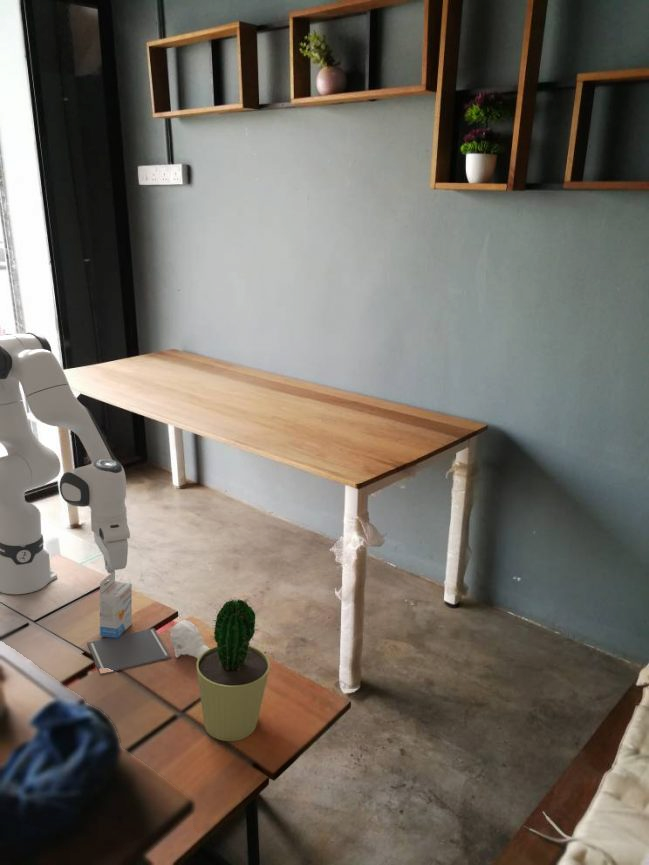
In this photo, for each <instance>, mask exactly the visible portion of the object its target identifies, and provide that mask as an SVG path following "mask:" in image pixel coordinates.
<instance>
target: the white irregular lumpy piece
mask: <svg viewBox="0 0 649 865" xmlns="http://www.w3.org/2000/svg"><path fill="white" fill-rule="evenodd" d="M169 637H170V643H171V644H172V646H173V650H174V654H175V655H174V656H175V658H176V659H177V658H179V657H180V656H181V655H184V656H185V655H188V656H190V657H194V658H196V659H197V660H198V658H199V657H200V655H201V654H203V653H204V652H205V651H206V650H208V649H210V648H211V647H210V648H209V647H208V646H207V645H206V643H205V639H204V638H203V637H202V634H201V632H200V631H199V629H198V628H197V625H196V624H194V623H192V621H189V620H185V619H183V620H180V621H179V622H177V623H176V624H175V625H174V626H173V628H172V630H171V632H170V635H169Z"/></svg>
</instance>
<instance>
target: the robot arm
mask: <svg viewBox="0 0 649 865" xmlns="http://www.w3.org/2000/svg"><path fill="white" fill-rule="evenodd" d="M20 385H21V388H22V390H23V393H24V396H25V400H26V401H27V402H26V403H27V404H28V407H29V410H30V411H31V413H32V415H33V417H34V418H35V419H36V420H38V421H39V422H41V423H43V424H45V425H49V426H51V427H58V428H63V429H66V430H69V431H71V432H73V433H74V434H75V435H77V437H78V438H79V440H80V442H81V443H82V445H83V448H84V449H85V450H86V452H87V455H88V456H89V459H90V461H91V463H90V464H87V465H84V466H80V467H76V468H74V469H71V470H68V471H66V472H65V473H63V474H62V475H61V478H60V481H59V491H60V492H59V493H60V495H61V497H62V499H63V500H64V502H66V503H67V504H69V505H70V506H73V507H80V508H81V507H83V508H85V507H88V508H89V509H90V529H91V532H93V538H94V543H95V544H96V545H97V548H98V549H99V552H101V554H102V557H103V560H104V569H105V570H106V572H107V574H111V573H112V572H113V571H115V572H116V571H119V570H124V569H126V567H127V564H128V554H129V553H128V551H129V550H128V549H129V543H128V539H130V538H131V532H130V529H129V526H128V517H127V515H128V514H127V506H126V499H127V480H126V472H125V469H124V467H123V465H122V464H121V462H120V461H119V460H118V459H117V458H116V455H114V453H113V451H112V449H111V447H110V445H109V443H108V441H107V439H106V438H105V436H104V434H103V433H102V430H101V429H100V426H99V425H98V422H97V421H96V419H95V417H94V416H93V414H92V412H91V411H90V410H89V409H88V407H87V406H85V405H83V404H82V403H81V402H80V401H79V400H78V399H77V397H76V396H75V394H74V392H73V391H72V389H71V386H70V384H69V381H68V378H67V375H66V374H65V372H64V369H63V368H62V366H61V363H59V361H58V359H57V357H56V356H55V354H54V353H53V351H52V347H51V345H50V342H49V340H48V339H47V338H46V337H44V336H43V335H41V334H38V333H35V332H33V333H32V332H25V333H6V334H4V335H0V444H1V445H2V446H3V447H4V448H5V450H6V452H7V455H4V456H0V593H2V594H6V595H7V594H8V595H23V594H29V593H33V592H34V593H35V592H36V591H40V590H41V589H43V588H45V587H46V586H47V585H48V584H49V583H50V582H52V581H54V580H56V579H57V577H58V575H57V573H56V571H54V570H53V568H51V562H50V560H51V559H50V553H49V552H48V551H47V550H46V549H44V543H45V542H44V536H43V534H42V521H41V520H42V517H41V516H42V514H41V511H40V509H39V508H38V507H37V506H36V505H35V504H33V503H30V502H28V501H26V499H25V493H26V492H28V491H31V490H34V489H37V488H39V487H40V488H41V487H42V486H45V485H46V484H48V483H50V482H52V481H53V480H55V479H56V478H57V477H58V476H59V474H60V472H61V461H60V458H59V456H58V455H57V453H56V452H55V451H54V450H53V449H51V448H49V447H48V446H45V445H44V444H43V443H42V442H41V441H40V440H39V439H38V438H37V436H36V435H35V433H34V432H33V430H32V428H31V425H30V423H29V419H28V415H27V412H26V409H25V408H26V407H25V403H24V399H23V396H22V393H21V388H20Z"/></svg>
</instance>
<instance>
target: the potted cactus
mask: <svg viewBox="0 0 649 865" xmlns="http://www.w3.org/2000/svg"><path fill="white" fill-rule="evenodd" d="M247 601H248V600H247V599H245V600H244V599H241V597H239V598H237V599H235V598H233V599H232V597H230V598H229V600H227V601H225V602H223V603H224V604H222V606H221V605H219V604H218V605H219V607H220V609H219V608H218V607H217V606H216V607H217V611H218V612H217V613H216V614H217V615H215V619H213V620H212V621H213V622H214V623H215V624H214V625H213V627H214V628H213V633H212V634H211V636H210V638H212V639H213V640H214V641H215V643H216V645H214V646H212V647H210V649H208V650H206V651H205V652H204V653H203V654H201V655H200V657H199V658H198V659H197V661H196V670H197V671H196V672H197V679H198V680H197V681H198V688H199V696H200V703H201V711H202V712H201V713H202V719H203V725H204V728H205V731H206V733H207V734H209V735H210V736H211V737H212V738H213V739H216V740H220V741H225V742H236V741H240V740H243V739H245V738H247V737H249V736H251V734H253V733H254V731H256V730H255V729H256V727H257V725H258V720H259V715H260V712H261V708H262V702H263V698H264V694H265V689H266V686H267V681H268V676H269V671H270V670H271V661H270V659H269V657H268V655H267V654H266V653H265V652H264V651H262V650H261V649H259V648H257V647H255V646H252V644H251V643H250V642H252V640H254V638H253V637H254V634H256V633H255V632H256V631H259V629H255V628H256V626H257V627H259V624H256V615H257V614H258V611H259V610H260V609H258V610H256V612H255V609H254V606H250V605H252V604H253V603H248V602H247ZM249 604H250V605H249ZM212 635H213V636H212Z"/></svg>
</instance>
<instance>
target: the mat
mask: <svg viewBox="0 0 649 865" xmlns="http://www.w3.org/2000/svg"><path fill="white" fill-rule="evenodd" d="M86 645H87V646H88V650H89V652H90V653H91V656H92V658H93V661H94V663H95V665H96V668H97V670H98V671H99V669H100V668H109V669H111V670H113V671H114V672H119V671H122V670H127V669H131V668H135V667H138V666H143V665H148V664H152V663H155V662H160V661H164V660H168V659H172V656H171V654H170V652H169V650H168V649H167V647H166V646H165V644H164V643H163V640H161V637H160V635H159V634H158V632H157V630H156V629H155V627H151V628H148V629H143V630H138V631H132V632H129V633H124V634H121V635H120V636H119V637H118V639H116V638H109V637H104V638H102V639H96V640H93V641H88V642H87V643H86ZM114 672H113V673H114Z"/></svg>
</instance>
